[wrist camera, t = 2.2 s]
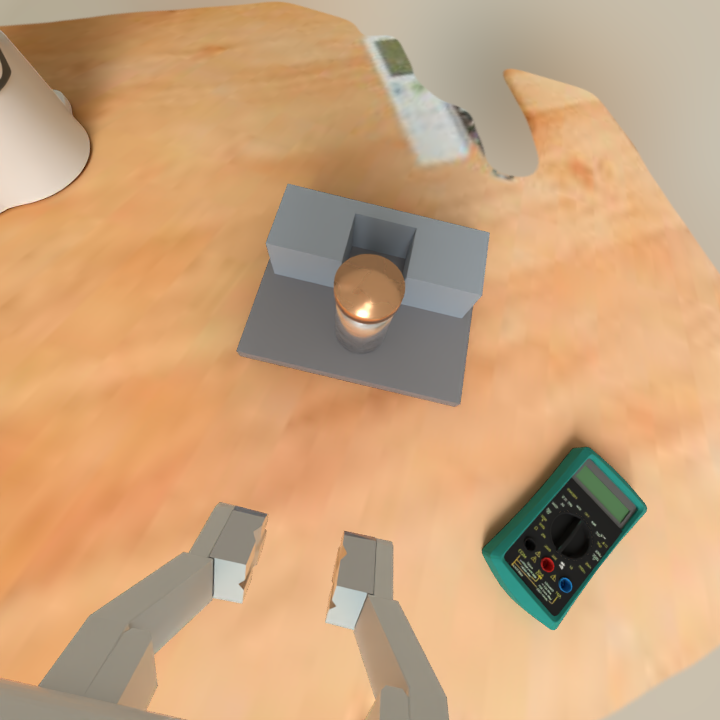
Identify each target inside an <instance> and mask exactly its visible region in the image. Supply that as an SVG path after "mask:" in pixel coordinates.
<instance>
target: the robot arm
mask: <svg viewBox="0 0 720 720" xmlns="http://www.w3.org/2000/svg"><path fill="white" fill-rule="evenodd" d="M89 153H90V141H89V137H88V135H87V133H86V131H85V129H84V128H83V126H82V125H81V124H80V123H79V122H78V121H77V120H76V119H75V118H74V116H73V115H72V109H71V105H70V102H69V101H68V99H67V98H66V97H65V96H64V95H63V93H62V92H60V91H58V90H52V89H51V88H50V87H49V85H48V84H47V83H46V82H45V81H44V80H43V78H42V77H41V76H40V75H39V74H38V72H37V71H36V70H35V69H34V68H33V67H32V65H31V64H30V63H29V62H28V61H27V60H26V58H25V57H24V56H23V55H22V54H21V53H20V51H19V50H18V49H17V48H16V47H15V46H14V44H13V43H12V42H11V41H10V40H9V39H8V37H7V36H6V35H5V34H4V33H3V32H2V31H1V30H0V213H1V212H3V211H5V210H6V209H8V208H11V207H15V206H19V205H23V204H28V203H32V202H35V201H38V200H41V199H44V198H46V197H49V196H51V195H53V194H55V193H57V192H58V191H60V190H62V189H63V188H65V187H66V186H67V185H69V184H70V183H71V182H72V181H73V180H74V179H75V178H76V177H77V176H78V175H79V174H80V172H81V171H82V170H83V168H84V166H85V165H86V162H87V160H88V157H89ZM267 522H268V514H267V513H263V512H259V511H255V510H251V509H247V508H243V507H239V506H235V505H231V504H227V503H222V502H219V503H218V504H217V505H216V507H215V508H214V510H213V512H212V513H211V515H210V517H209V518H208V520H207V522H206V524H205V525H204V527H203V529H202V531H201V532H200V534H199V536H198V537H197V539H196V541H195V543H194V544H193V546H192V548H191V550H190V551H189V553H186V552H183V553H181V554H180V555H178V556H177V557H175V558H174V559H172V560H171V561H169V562H168V563H166V564H165V565H163V566H162V567H161V568H159V569H158V570H156V571H155V572H153V573H152V574H150V575H149V576H147V577H146V578H144V579H143V580H141V581H140V582H138V583H137V584H135V585H134V586H132V587H131V588H129V589H128V590H127V591H125V592H124V593H122V594H121V595H119V596H118V597H116V598H115V599H113V600H112V601H110V602H109V603H107V604H106V605H104V606H103V607H101V608H100V609H98V610H97V611H96V612H94V613H93V614H91V615H90V616H89V617H88V618H87V620H86V621H85V622H84V624H83V625H82V627H81V628H80V629H79V631H78V632H77V633H76V635H75V636H74V638H73V639H72V640H71V642H70V643H69V644H68V646H67V647H66V648H65V650H64V651H63V653H62V654H61V655H60V657H59V658H58V659H57V661H56V662H55V664H54V665H53V666H52V668H51V669H50V670H49V672H48V673H47V674H46V676H45V677H44V679H43V680H42V681H41V683H40V684H39V685H38V686H34V685H30V684H25V683H21V682H17V681H12V680H8V679H3V678H0V720H186V719H182V718H177V717H173V716H168V715H164V714H159V713H155V712H150V711H146V709H147V707H148V705H149V703H150V701H151V699H152V697H153V695H154V692H155V690H156V688H157V686H158V684H157V676H156V668H155V660H154V654H155V653H156V652H158V651H159V650H160V649H161V648H162V647H163V646H164V645H165V644H166V643H167V642H168V641H169V640H170V639H171V638H172V637H173V636H175V635H176V634H177V633H178V632H179V631H180V630H181V629H182V628H183V627H184V626H185V625H186V624H187V623H188V622H189V621H190V620H192V619H193V618H194V617H195V616H196V615H197V614H198V613H199V612H200V611H201V610H202V609H203V608H204V607H205V606H206V605H207V604H208V603H210V602H211V601H212V598H216V599H221V600H227V601H232V602H237V603H243V600H244V598H245V595H246V592H247V590H248V587H249V585H250V582H251V579H252V572H253V567H254V566H255V565H256V564H257V563H258V560H259V558H260V555H261V552H262V549H263V545H264V541H265V537H266V529H265V527H266V525H267ZM332 583H333V585H332V589H331V592H330V596H329V601H328V607H327V614H326V620H325V623H329V624H333V625H337V626H341V627H344V628H348V629H352V630H354V635H355V638H356V641H357V644H358V647H359V650H360V653H361V656H362V660H363V663H364V666H365V669H366V672H367V675H368V678H369V681H370V684H371V687H372V690H373V694H374V697H375V702H374V704H373V706H372V707H371V709H370V711H369V713H368V715H367V716H366V718H365V720H449V715H448V705H447V697H446V695H445V693H444V691H443V689H442V687H441V685H440V683H439V681H438V679H437V677H436V675H435V673H434V671H433V669H432V667H431V665H430V663H429V661H428V659H427V657H426V655H425V653H424V651H423V650H422V648H421V646H420V644H419V642H418V640H417V638H416V636H415V634H414V632H413V630H412V628H411V626H410V624H409V622H408V620H407V618H406V616H405V614H404V612H403V610H402V608H401V606H400V604H399V602H398V601H396V600H393V544H392V542H391V541H387V540H382V539H377V538H375V537H371V536H366V535H361V534H357V533H352V532H347V531H344V532H343V535H342V539H341V545H340V547H339V549H338V553H337V557H336V561H335V565H334V571H333V577H332Z"/></svg>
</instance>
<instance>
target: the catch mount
mask: <svg viewBox="0 0 720 720" xmlns="http://www.w3.org/2000/svg"><path fill="white" fill-rule="evenodd" d="M488 241H489V232H485V231H481V230H477V229H472V228H468V227H464V226H460V225H456V224H452V223H448V222H444V221H439V220H435V219H431V218H427V217H423V216H419V215H415V214H411V213H406V212H402V211H398V210H394V209H390V208H386V207H382V206H378V205H374V204H369V203H365V202H361V201H357V200H353V199H349V198H345V197H341V196H336V195H332V194H328V193H324V192H320V191H316V190H312V189H308V188H304V187H299V186H295V185H291V184H288V185H287V187H286V190H285V193H284V195H283V198H282V201H281V203H280V206H279V209H278V212H277V214H276V217H275V220H274V222H273V225H272V228H271V230H270V233H269V236H268V238H267V241H266V246H267V249H268V253H269V256H270V259H269V262H268V265H267V267H266V270H265V273H264V276H263V278H262V281H261V284H260V287H259V290H258V292H257V295H256V298H255V301H254V303H253V306H252V309H251V312H250V315H249V317H248V320H247V323H246V326H245V328H244V331H243V334H242V337H241V340H240V342H239V345H238V348H237V352H238V354H239V355H240V356H243V357H247V358H251V359H256V360H260V361H264V362H268V363H272V364H277V365H281V366H285V367H289V368H293V369H298V370H302V371H306V372H310V373H315V374H319V375H323V376H327V377H331V378H336V379H340V380H344V381H348V382H353V383H357V384H361V385H365V386H369V387H374V388H378V389H382V390H386V391H391V392H395V393H399V394H403V395H407V396H412V397H416V398H420V399H424V400H429V401H433V402H437V403H441V404H445V405H450V406H454V407H455V406H457V405H459V404H460V402H461V394H462V386H463V379H464V371H465V363H466V355H467V348H468V340H469V332H470V324H471V317H472V309H473V305H474V304H475V303H476V302H477V300H478V299H479V298H480V297H481V296H482V291H483V283H484V274H485V266H486V258H487V250H488ZM361 254H375V255H379V256H382V257H384V258H386V259H388V260H390V261H391V262H393V263H394V264H395V265H396V266H397V267H398V269H399V270H400V271H401V273H402V275H403V277H404V281H405V294H404V298H403V300H402V302H401V305H400V307H399V309H398V310H397V312H396V313H395V314H394V315H393V317H392V320H391V322H390V325H389V327H388V329H387V332H386V334H385V337H384V339H383V341H382V343H381V344H380V346H379V347H378V348H376V349H375V350H373V351H371V352H369V353H364V354H358V353H353V352H350V351H348V350H347V349H345V348H344V347H343V346H342V345H341V344H340V343H339V341H338V340H337V337H336V334H335V316H336V302H335V298H334V278H335V275H336V272H337V270H338V268H339V267H340V266H341V265H342V264H343V263H344V262H345V261H346V260H348V259H349V258H351V257H354V256H356V255H361Z"/></svg>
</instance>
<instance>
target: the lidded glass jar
mask: <svg viewBox="0 0 720 720" xmlns="http://www.w3.org/2000/svg"><path fill="white" fill-rule="evenodd" d="M404 294H405V281H404V277H403V275H402V273H401V271H400V270H399V269H398V267H397V266H396V265H395V264H394V263H393V262H391V261H390V260H388V259H386V258H384V257H382V256H379V255H375V254H361V255H356V256H354V257H351V258H349V259H348V260H346V261H345V262H344V263H343V264H342V265H341V266H340V267H339V268H338V270H337V272H336V275H335V278H334V298H335V302H336V316H335V334H336V337H337V340H338V341H339V343H340V344H341V345H342V346H343V347H344V348H345V349H347V350H348V351H350V352H353V353H358V354H364V353H369V352H371V351H373V350H375V349H376V348H378V347H379V346H380V344H381V343H382V341H383V339H384V337H385V334H386V332H387V329H388V327H389V325H390V322H391V320H392V317H393V315H394V314H395V313H396V312H397V310H398V309H399V307H400V305H401V302H402V300H403V298H404Z"/></svg>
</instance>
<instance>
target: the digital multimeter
mask: <svg viewBox="0 0 720 720" xmlns="http://www.w3.org/2000/svg"><path fill="white" fill-rule="evenodd" d="M564 485H565V486H564ZM563 486H564V487H563ZM562 487H563V488H562ZM557 493H558V494H557ZM556 494H557V495H556ZM555 495H556V496H555ZM550 501H551V502H550ZM549 502H550V503H549ZM548 503H549V504H548ZM543 509H544V510H543ZM542 510H543V511H542ZM541 511H542V512H541ZM646 511H647V506H646V505H645V503H644V502H643V501H642V499H641V498H640V497H639V496H638V495H637V493H636V492H635V491H634V490H633V489H632V488H631V487H630V485H629V484H628V483H627V482H626V481H625V480H624V479H623V478H622V477H621V476H620V475H619V474H618V473H617V472H616V471H615V470H614V469H613V468H612V467H611V466H610V465H609V464H608V463H607V462H606V461H605V460H604V459H602V458H601V457H600V456H599V455H598V454H597V453H596V452H594V451H593V450H592V449H591V448H589V447H581V448H573V449H572V450H571V451H570V453H569V454H568V455H567V456H566V458H565V459H564V460H563V461H562V463H561V464H560V465H559V466H558V468H557V469H556V470H555V471H554V473H553V474H552V475H551V476H550V478H549V479H548V480H547V481H546V482H545V483H544V485H543V486H542V487H541V488H540V489H539V490H538V492H537V493H536V494H535V495H534V496H533V497H532V498H531V500H530V501H529V502H528V503H527V504H526V505H525V506H524V507H523V508H522V509H521V510H520V511H519V512H518V513H517V514H516V515H515V517H514V518H513V519H512V520H511V521H510V522H509V523H508V524H507V525H506V526H505V527H504V528H503V529H502V530H501V531H500V532H499V533H498V534H497V535H496V536H495V537H494V538H493V539H492V540H491V541H490V542H489V543H488V544H487V545H486V546H485V547H484V548H483V550H482V554H483V556H484V558H485V560H486V562H487V564H488V565H489V567H490V569H491V571H492V573H493V574H494V576H495V577H496V579H497V581H498V582H499V584H500V585H501V587H502V588H503V589H504V590H505V591H506V593H507V594H508V595H509V596H510V597H511V598H512V599H513V600H514V601H515V602H516V603H517V604H518V605H519V606H521V607H522V608H523V609H524V610H525V611H527V612H528V613H529V614H531V615H532V616H533V617H534V618H536V619H537V620H538V621H540V622H541V623H542V624H544V625H545V626H547V627H548V628H549V629H551V630H555V629H557V627H558V626H559V624H560V623H561V621H562V620H563V618H564V617H565V615H566V614H567V612H568V611H569V609H570V608H571V606H572V605H573V603H574V602H575V600H576V599H577V598H578V596H579V595H580V593H581V592H582V590H583V589H584V588H585V586H586V585H587V583H588V582H589V581H590V579H591V578H592V576H593V575H594V574H595V572H596V571H597V569H598V568H599V567H600V566H601V564H602V563H603V562H604V561H605V559H606V558H607V557H608V556H609V554H610V553H611V552H612V551H613V549H614V548H615V547H616V546H617V544H618V543H619V542H620V541H621V540H622V539H623V537H624V536H625V535H626V534H627V533H628V532H629V531H630V530H631V528H632V527H633V526H634V525H635V524H636V523H637V522H638V520H639V519H640V518H641V517H642V516H643V515H644V514H645V513H646ZM536 517H537V518H536ZM535 518H536V519H535ZM534 519H535V520H534ZM586 522H587V523H586ZM529 525H530V526H529ZM528 526H529V527H528ZM527 527H528V528H527ZM522 533H523V534H522ZM591 533H592V534H591ZM521 534H522V535H521ZM514 542H515V543H514ZM591 546H592V547H591ZM508 549H509V550H508ZM507 550H508V551H507ZM568 559H569V560H568ZM573 560H574V561H573Z"/></svg>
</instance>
